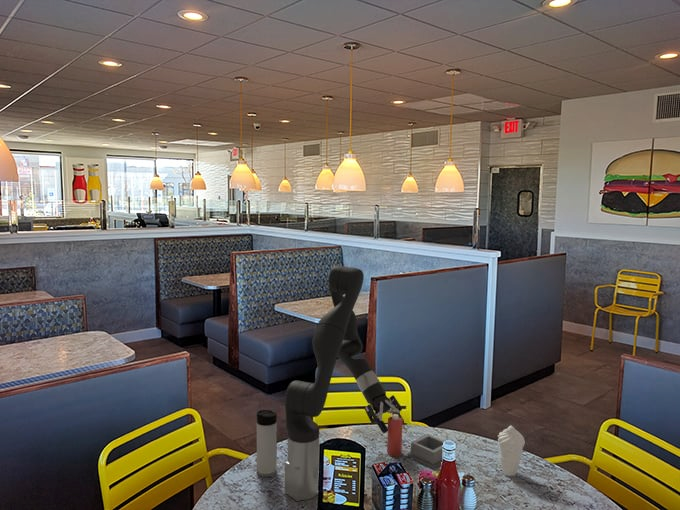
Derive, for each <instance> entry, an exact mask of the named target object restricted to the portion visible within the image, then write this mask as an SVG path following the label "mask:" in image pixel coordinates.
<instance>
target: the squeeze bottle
mask: <svg viewBox="0 0 680 510" xmlns="http://www.w3.org/2000/svg"><path fill="white" fill-rule="evenodd" d="M402 418H403V417H402ZM402 418H400V417H399V415H398V414H393V415H392V414H391V416H389V417H388V418H387V428H388V431H387V437H386V438H387V441H386V454H387V453H388V454H389V456H390V455H392V456H391V457H393V456H397V457H400V456H402V453H403V448H402V447H403V425H404V424H403V420H404V418H403V419H402ZM402 424H403V425H402ZM388 454H387V455H388Z"/></svg>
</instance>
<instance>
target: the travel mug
mask: <svg viewBox="0 0 680 510" xmlns="http://www.w3.org/2000/svg"><path fill="white" fill-rule="evenodd" d="M277 415H278V414H277V412H275V411H272V410H270V409H269V410H268V409H263V410H262V409H261V410H258V411H257V412H256V474H257V475H258V476H259V477H263V478H267V477H272V476H274V475H275V474H276V473H277V470H278V469H277V468H278V466H277V462H278V459H277V457H278V456H277V454H278V453H277V452H278V451H277V450H278V447H277V446H278V441H277V440H278V438H277V437H278V432H277V431H278V427H277V425H278V421H277V419H278V416H277Z"/></svg>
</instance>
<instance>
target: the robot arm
mask: <svg viewBox="0 0 680 510" xmlns="http://www.w3.org/2000/svg"><path fill="white" fill-rule="evenodd" d="M330 269H331V270H330V272H329V275H328V288H329V293H330V297H331V301H332V304H333V308H331V310H329V311H328V312H326V313H325V315H323V316H322V317H321V318H320V320H319V321H318V323H317V326H316V328H315V331H314V333H313V336H312V340H311V341H312V350H313V353H314V357H315V359H316V365H317V372H316V378H315V381H314V382H308V381H302V380H293V381H291V382H290V383H289V385H288V386H287V389H286V392H285V400H284V403H285V404H284V406H285V407H284V409H285V426H286V432H287V461H285V463H284V493H285V494H286V495H287V496H289V497H290V498H292V499H293V500H294V501H296V502H299V501H300V502H301V501H305V500H310V499H313V498H315V497H316V496H317V495H318V494H317V491H318V492H319V490H318V471H319V472H320V427H319V425H318V423H316V422H315V421H314V420H312V419H311V417H312V418H316V417H317V418H318V417H319V416H320V415H321V413H322V411H323V410H324V407H325V405H326V401H327V397H328V393H329V390H330V389H329V388H330V384H331V381H332V376H333V372H334V368H335V365H336V362H337V359H338V360H339V361H340V362H342V364H344V366H345V367H346V368H347V369H348V370H349V372H351V374H352V376H353V378H354V379H355V382H356V383H357V386H358V388H359V390H360V392H361V394H362V395H363V397H364V399H365V400H366V403H367V404H368V405H366V406H365V407H364V411H365V413H366V415H367V417H368V419H369V421H370V423H371V424H373V425H374V424H377V426H378V427H379V430H380V431H381V432H382V433H383V434H386V433H388V426H387V425H386V423H385V422H384V420H383V415H384V414H386V413H388V414H391V416H392V415H393V414H398V415H399V417H400V418H402V419H403V424H402V426H403V425H404V424H405V419H404V418H403V416H402V414H401V412H402V410H403V407H402V406H401V404H400V403H399V401H398V399H397V398H396V396H395V395H394V394H393V395H391V396H390V397H388V396H387V392H386V389H385V388H384V386H383V385H382V383H381V380H380V379H379V378H378V376H377V375H376V373H375V372H374V371H373V368H372V367H371V366H370V363H369V362H368V360H367V359H366V358H362V357H361V358H356V359H355V358H353V357H355V356H358V355H360V353H362V351H363V348H364V346H363V342H362V340H361V338H360V335H359V332H358V320H357V316H356V314H355V312H354V308H355V306H356V303H357V300H358V298H359V295H360V292H361V290H362V288H363V284H364V277H365V276H364V271H363V270H361V269H360V268H356V267H351V266H345V265H334V266H333V267H332V268H330Z"/></svg>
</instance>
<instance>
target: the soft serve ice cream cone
mask: <svg viewBox="0 0 680 510" xmlns="http://www.w3.org/2000/svg"><path fill="white" fill-rule="evenodd" d="M497 438H498V439H497V441H498V448H499V454H498V455H499V456H498V457H499V458H500V466H501V472H502V474H503V475H505V476H508V477H515V476H516V475H517V473H518V469H519V466H520V462H521V461H522V453H523V452H522V451H523V449H524V447H525V443H526V441H525V440H526V439H525V437H524V436H523V435H522V434H521V433H520V432H519V431H518V430H517V429H516V428H515V427H514V426H513V425H509V426H508V427H507V428H505V429H503V430H502V431H500V432H499V434H498V435H497Z"/></svg>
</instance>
